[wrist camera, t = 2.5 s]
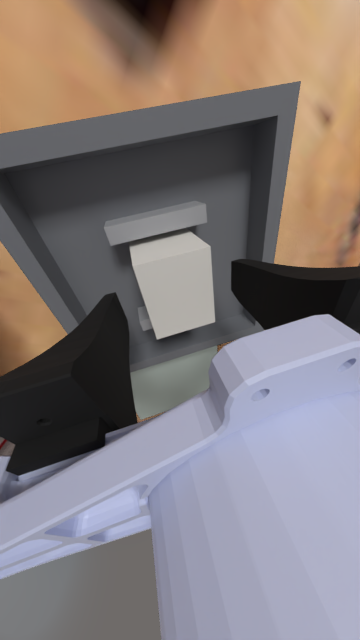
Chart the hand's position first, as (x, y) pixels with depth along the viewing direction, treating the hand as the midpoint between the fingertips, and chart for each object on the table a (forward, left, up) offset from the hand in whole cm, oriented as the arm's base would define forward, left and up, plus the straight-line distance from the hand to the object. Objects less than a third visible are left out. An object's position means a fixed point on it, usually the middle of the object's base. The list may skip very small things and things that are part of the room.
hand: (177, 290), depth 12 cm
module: (0, 0, -4) cm, 4 cm away
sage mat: (-2, -15, -5) cm, 16 cm away
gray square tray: (0, 0, -5) cm, 5 cm away
